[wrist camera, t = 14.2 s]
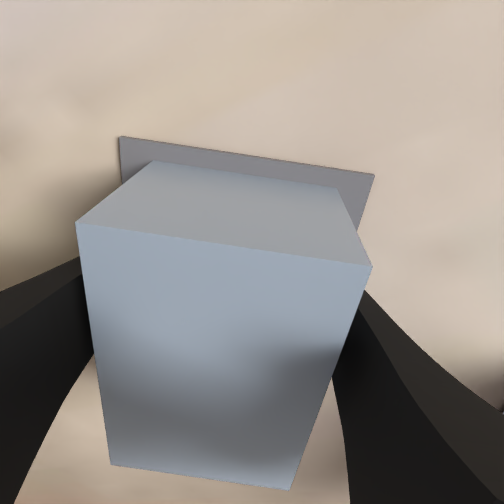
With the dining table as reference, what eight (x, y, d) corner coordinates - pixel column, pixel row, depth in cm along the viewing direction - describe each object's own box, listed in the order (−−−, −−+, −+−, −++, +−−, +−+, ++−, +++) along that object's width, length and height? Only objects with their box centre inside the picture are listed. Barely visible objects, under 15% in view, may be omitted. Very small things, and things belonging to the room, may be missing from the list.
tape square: (373, 173, 11) (374, 175, 10) (315, 353, 15) (316, 356, 14) (122, 136, 10) (118, 137, 10) (133, 326, 14) (131, 329, 14)
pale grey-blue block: (154, 158, 11) (75, 222, 7) (335, 185, 11) (372, 266, 7) (157, 351, 15) (110, 464, 11) (286, 370, 15) (289, 490, 11)
